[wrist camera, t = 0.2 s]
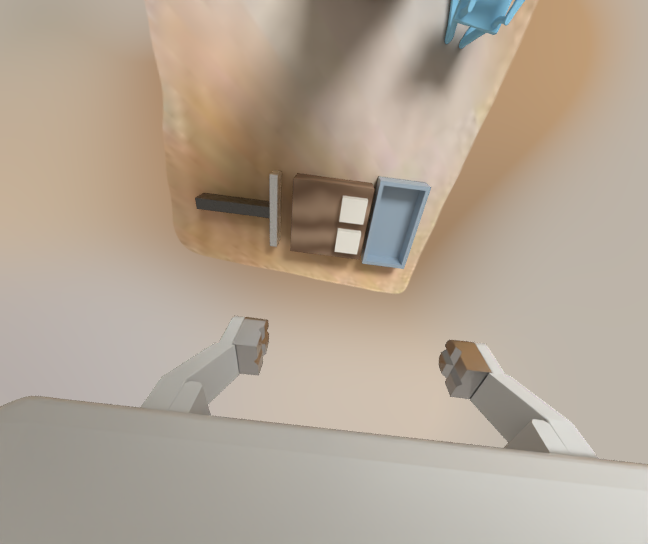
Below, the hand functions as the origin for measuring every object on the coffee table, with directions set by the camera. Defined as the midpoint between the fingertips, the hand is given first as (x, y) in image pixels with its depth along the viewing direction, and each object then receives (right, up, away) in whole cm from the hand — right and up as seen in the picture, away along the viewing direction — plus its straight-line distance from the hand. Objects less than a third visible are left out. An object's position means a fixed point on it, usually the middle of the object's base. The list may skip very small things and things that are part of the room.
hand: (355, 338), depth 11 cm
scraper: (-21, +19, +46) cm, 54 cm away
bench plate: (0, +16, +46) cm, 49 cm away
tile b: (+4, +10, +44) cm, 45 cm away
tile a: (+5, +16, +40) cm, 43 cm away
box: (+14, +15, +46) cm, 50 cm away
